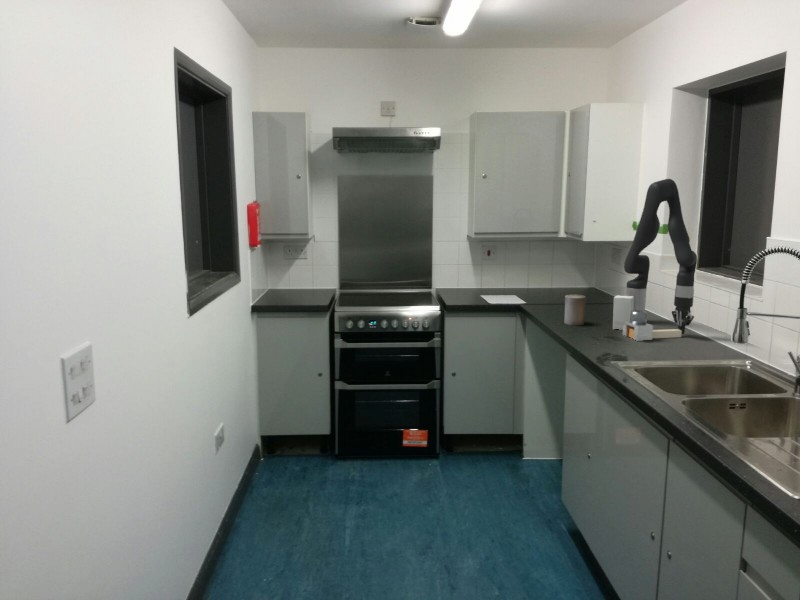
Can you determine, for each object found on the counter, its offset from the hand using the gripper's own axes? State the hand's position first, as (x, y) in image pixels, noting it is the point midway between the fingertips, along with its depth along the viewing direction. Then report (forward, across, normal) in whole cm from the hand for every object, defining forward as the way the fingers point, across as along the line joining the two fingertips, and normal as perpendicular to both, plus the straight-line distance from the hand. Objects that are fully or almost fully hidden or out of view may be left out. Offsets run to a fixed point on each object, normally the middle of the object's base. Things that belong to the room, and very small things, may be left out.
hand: (681, 333), depth 266 cm
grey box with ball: (+1, 0, -21) cm, 21 cm away
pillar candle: (+1, -33, -35) cm, 48 cm away
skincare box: (+1, -17, -18) cm, 25 cm away
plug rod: (+1, 0, -13) cm, 13 cm away
